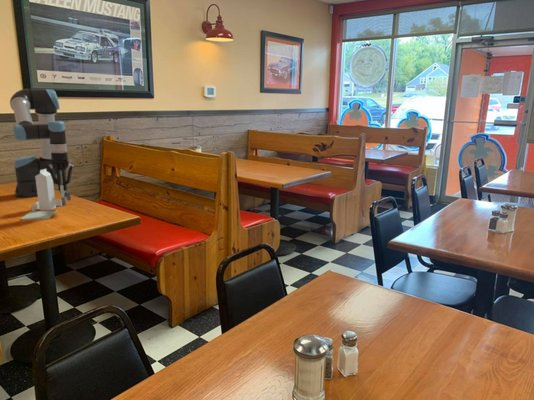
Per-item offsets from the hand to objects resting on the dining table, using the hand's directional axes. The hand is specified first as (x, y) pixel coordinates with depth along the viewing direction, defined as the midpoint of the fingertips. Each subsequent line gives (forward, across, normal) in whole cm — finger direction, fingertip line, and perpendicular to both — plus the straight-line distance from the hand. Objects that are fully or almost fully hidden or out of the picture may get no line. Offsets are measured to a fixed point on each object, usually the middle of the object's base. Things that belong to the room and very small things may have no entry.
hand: (63, 196), depth 216 cm
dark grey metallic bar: (+2, -2, +9) cm, 9 cm away
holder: (+9, -12, +12) cm, 19 cm away
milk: (+9, -12, +10) cm, 18 cm away
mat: (+9, -12, -3) cm, 15 cm away
